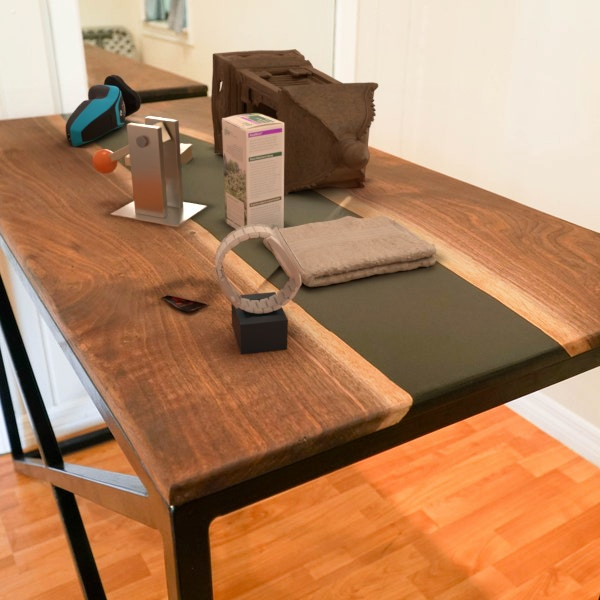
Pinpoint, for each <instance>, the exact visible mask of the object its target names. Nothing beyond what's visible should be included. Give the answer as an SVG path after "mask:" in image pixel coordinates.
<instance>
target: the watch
mask: <svg viewBox="0 0 600 600" xmlns="http://www.w3.org/2000/svg"><path fill="white" fill-rule="evenodd" d="M257 238H262V239H264V238H266V241H267V243H268V245H269V247H270V249H271V250H272V252H273V253H272V252H271V253H272V254H273V256H274V257H275V259H276V260H277V262H278V264H279V265H280V267H281V269H282V270H283V272H284V273H285V274H286V276H287V277H288V280H287V282H286V283H285V285H284V286H283V287H282V288H281V289H280V290H278V291H277V292H276V291H271V292H270V291H269V292H260V293H259V292H258V293H248V294H241V293H240V292H238V290H237V289H236V288H235V287H234V286H233V285H232V283H231V282H230V280H229V279H228V276H227V275H226V272H225V268H224V265H223V262H224V261H225V259H226V255H228V254H229V252H230V251H231V250H232V248H235V247H236V246H237V245H239V244H240V243H241V242H242V243H243V242H244V241H247V240H249V239H257ZM213 269H214V272H215V275H216V276H215V277H216V279H217V282H218V284H219V287H220V288H221V291H222V292H223V294H224V295H225V297H226V299H227V300H228V301H229V303H230V304H231V326H232V329H233V332H234V336H235V340H236V342H237V346H238V349H239V352H240V355H248V354H257V353H266V352H267V353H268V352H274V351H275V352H276V351H283V350H285V351H286V350H288V334H289V333H288V332H289V331H288V330H289V328H288V327H289V319H288V317H287V315H286V313H285V311H284V310H285V309H284V308H283V307H285V306H286V305H288V304H289V303H290V302H291V300H293V299H294V298H295V296H296V295H297V293H298V292H299V290H300V287H301V286H302V282H301V276H300V275H301V274H302V275H303V274H304V270H303V268H302V266H301V264H300V262H299V261H298V259H297V257H296V255H295V254H294V252H293V250H292V249H291V247H290V246H289V244H288V242H287V241H286V239H285V237H284V236H283V234H282V233H281V231H280V230H279V229H278V228H277V227H275V228H274V230H273V229H271V228H270V227H268V226H267V225H265V224H264V225H263V224H255V225H254V224H251V225H246V226H242V227H240V228H237V229H234V230H232V231H230V232H229V233H228V234H227V235H226V236H225V237H224V238H223V239H222V241H221V242H220V243H219V245H218V247H217V249H216V251H215V255H214V267H213Z"/></svg>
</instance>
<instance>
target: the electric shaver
mask: <svg viewBox="0 0 600 600" xmlns="http://www.w3.org/2000/svg"><path fill="white" fill-rule="evenodd" d="M87 96H88V97H87V98H88V99H85V100H83V101H82V102H81V103H79V105H78V106H77V107H76V108H75V109H74V111H73V112H72V114H71V115H70V116H69V117H68V119H67V120H66V123H65V135H66V139H67V142H68V144H69V145H70V146H71V147H73V148H76V147H80V146H82V145H85V144H88V143H90V142H92V141H95V140H97V139H99V138H101V137H103V136H104V135H106V134H108V133H110V132H112V131H115V130H116V129H119V128H121V127H124V125H125V122H126V118H128V117H130V116H132V115H133V114H135V113H137V112H138V111H139V110H140V108H141V105H142V99H141V97H140V95H139V93H138V92H137V91H136V90H134V89H133V88H132V87H130V86H129V85H128V83H126V82H125V80H124V79H123V78H122V77H121V76H119V75H117V74H111V75H107V77H105V79H104V82H103V84H95V85H92V86H90V87H89V89H88V92H87Z"/></svg>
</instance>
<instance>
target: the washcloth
mask: <svg viewBox="0 0 600 600" xmlns="http://www.w3.org/2000/svg"><path fill="white" fill-rule="evenodd" d="M279 230H280V231H281V233H282V234H283V236H284V237H285V239H286V241H287V242H288V244H289V246H290V247H291V249H292V250H293V252H294V254H295V255H296V257H297V259H298V261H299V262H300V264H301V266H302V268H303V270H304V274H303V275H302V274H301V275H300V276H301V284H303V285H304V286H306V287H309V288H314V287H315V288H317V287H323V286H324V287H325V286H326V287H327V286H330V285H333V284H341V283H346V282H351V281H353V280H359V279H363V278H366V277H370V276H375V275H384V274H393V273H397V272H405V271H412V270H415V269H418V268H421V267H422V268H429V267H430V266H434V265H435V264H436V261H437V260H436V258H435V256H434V255H436V254H437V250H436V249H437V248H436V244H434V243H433V244H432V243H430V242H428V241H426V240H423V239H421V237H420V236H418V235H416V234H415V233H413V232H412V231H410V230H409V229H408V228H407V227H405V226H404V225H403V224H401V223H399V222H398V221H396V219H392V218H391V217H388V216H387V215H377V216H375V217H363V218H362V217H361V218H360V217H358V218H357V217H354V216H353V215H352V216H351V215H345V216H343V217H341V218H337V219H331V220H325V221H314V222H310V223H304V224H300V225H295V226H288V227H284V228H279ZM262 243H263V245H264V246H265V248H266V249H267V250H268V251H269V252H271V254H273V252H272V250H271V249H270V247H269V245H268V243H267V241H266V238H263V241H262Z"/></svg>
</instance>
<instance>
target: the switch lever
mask: <svg viewBox="0 0 600 600" xmlns="http://www.w3.org/2000/svg"><path fill="white" fill-rule="evenodd" d="M152 126H158V127H162V140H163V143H165V142H167V141H169V140H170V139H171V138H170V136H169V134H168V132H167V131H166V129H165V127H164V125H163V123H162V122H160V123H157V124H155V125H152ZM128 154H129V144H126V145H125V146H123V147H121V148H119V149H118V150H115V151H112V150H110V149H108V148H107V149H106V148H102V149H99V150H97V151H95V153H94V154H93V156H92V160H91V161H92V165H93V168H94V169H95V170H96V171H97V172H99V173H100V174H103V175H104V174H105V175H106V174H111V173H113V172H114V171H115V170H116V169H117V166H118V160H120V159H122V158H125V156H127V155H128Z"/></svg>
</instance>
